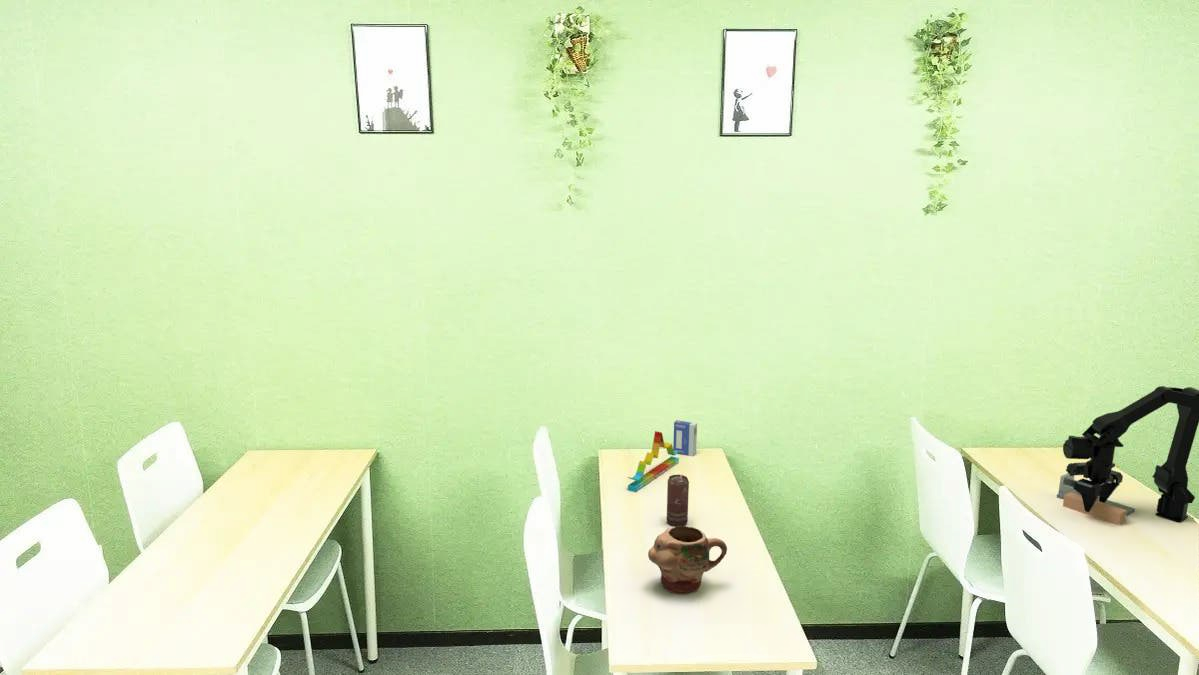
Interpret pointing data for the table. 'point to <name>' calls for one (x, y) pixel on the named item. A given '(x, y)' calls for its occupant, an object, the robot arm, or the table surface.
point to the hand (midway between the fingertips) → (1094, 507)
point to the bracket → (1067, 485)
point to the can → (677, 500)
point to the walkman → (685, 438)
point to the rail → (1096, 509)
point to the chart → (655, 472)
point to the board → (1129, 509)
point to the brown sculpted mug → (684, 558)
